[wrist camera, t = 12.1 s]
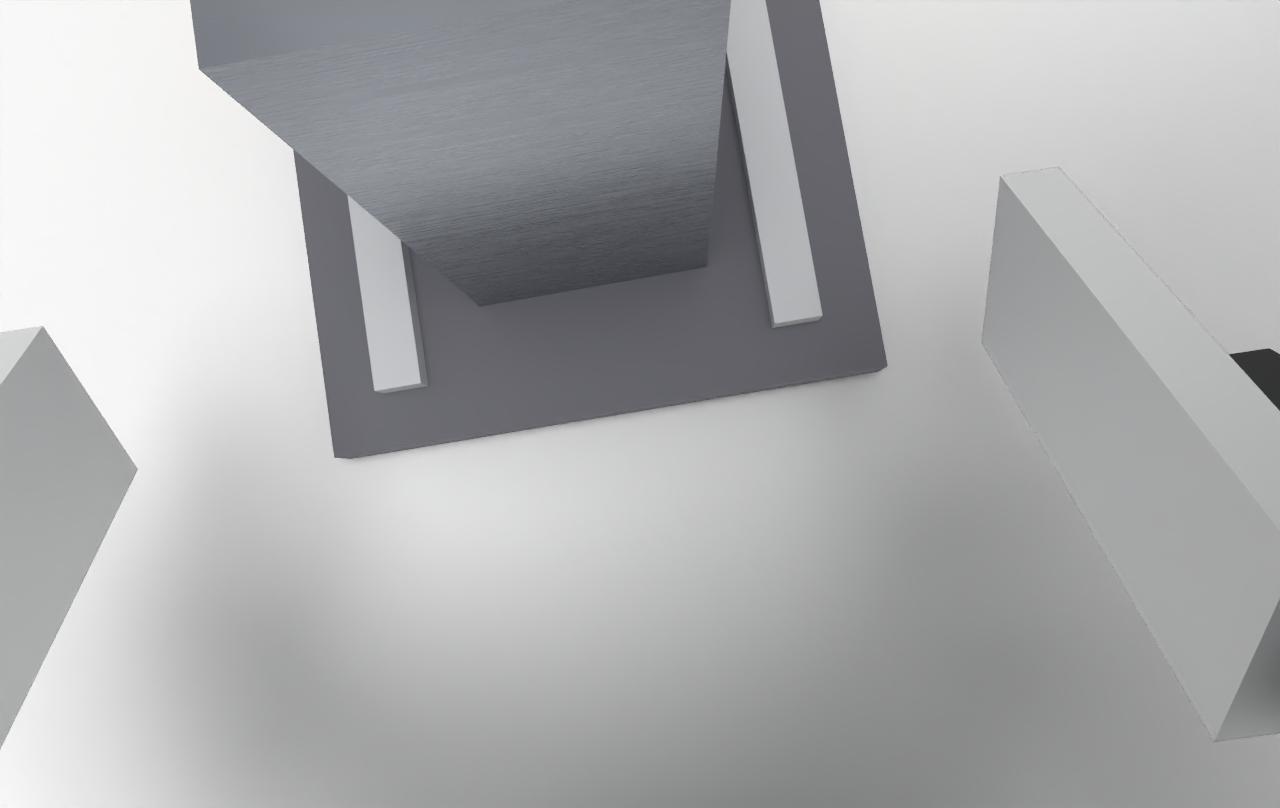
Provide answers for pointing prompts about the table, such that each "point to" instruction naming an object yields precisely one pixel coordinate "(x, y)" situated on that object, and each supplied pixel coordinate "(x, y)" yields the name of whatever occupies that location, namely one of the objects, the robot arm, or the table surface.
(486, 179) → the alu block
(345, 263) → the coupler dock
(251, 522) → the table surface
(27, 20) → the table surface
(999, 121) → the table surface
